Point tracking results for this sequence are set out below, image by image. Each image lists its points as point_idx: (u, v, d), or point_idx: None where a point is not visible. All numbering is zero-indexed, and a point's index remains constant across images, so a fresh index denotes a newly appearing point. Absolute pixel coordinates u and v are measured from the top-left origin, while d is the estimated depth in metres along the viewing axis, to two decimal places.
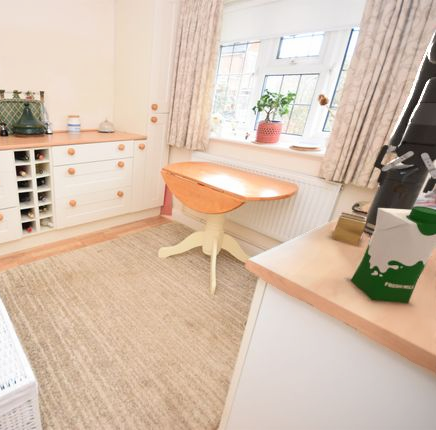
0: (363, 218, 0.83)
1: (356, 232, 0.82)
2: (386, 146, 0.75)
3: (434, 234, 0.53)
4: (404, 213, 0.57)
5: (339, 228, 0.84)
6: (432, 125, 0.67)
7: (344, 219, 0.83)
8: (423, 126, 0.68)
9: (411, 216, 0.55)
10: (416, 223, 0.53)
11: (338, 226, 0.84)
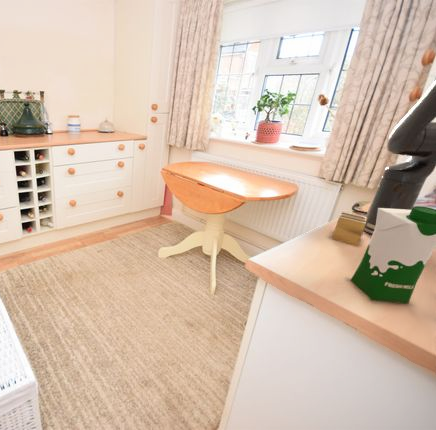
0: (363, 218, 0.83)
1: (356, 232, 0.82)
2: None
3: (434, 234, 0.53)
4: (404, 213, 0.57)
5: (339, 228, 0.84)
6: None
7: (344, 219, 0.83)
8: None
9: (411, 216, 0.55)
10: (416, 223, 0.53)
11: (338, 226, 0.84)
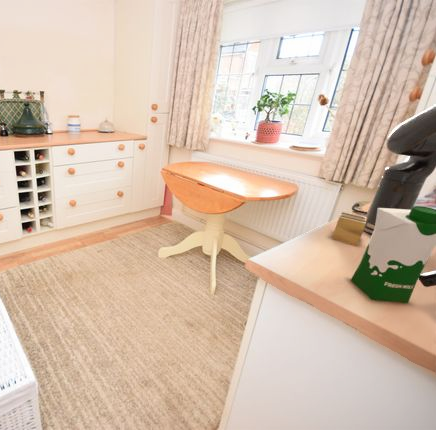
0: (363, 218, 0.83)
1: (356, 232, 0.82)
2: None
3: (433, 234, 0.53)
4: (404, 213, 0.57)
5: (339, 228, 0.84)
6: None
7: (344, 219, 0.83)
8: None
9: (410, 216, 0.55)
10: (415, 223, 0.53)
11: (338, 226, 0.84)
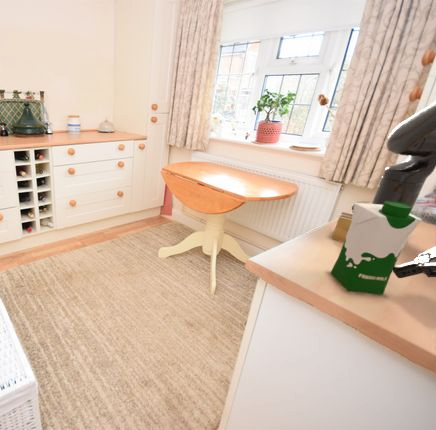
0: None
1: None
2: None
3: (403, 227, 0.55)
4: (378, 207, 0.59)
5: (339, 228, 0.84)
6: None
7: (344, 219, 0.83)
8: None
9: (382, 210, 0.57)
10: (386, 216, 0.56)
11: (338, 226, 0.84)
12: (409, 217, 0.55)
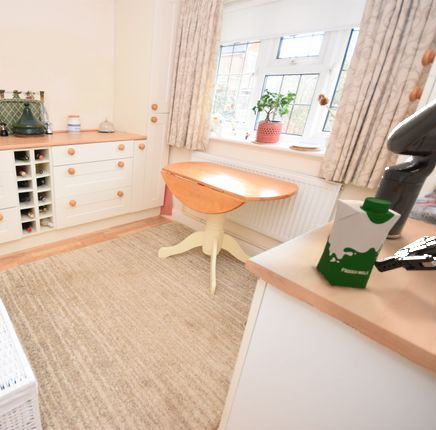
0: None
1: None
2: None
3: (383, 223, 0.57)
4: (359, 204, 0.61)
5: None
6: None
7: None
8: None
9: (363, 206, 0.59)
10: (366, 212, 0.57)
11: None
12: (388, 213, 0.57)
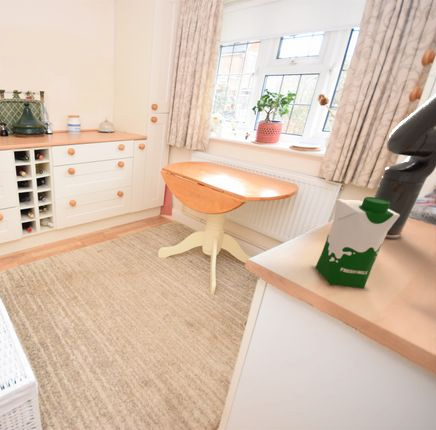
0: None
1: None
2: None
3: (382, 222, 0.57)
4: (358, 203, 0.61)
5: None
6: None
7: None
8: None
9: (362, 206, 0.59)
10: (365, 212, 0.57)
11: None
12: (387, 212, 0.57)
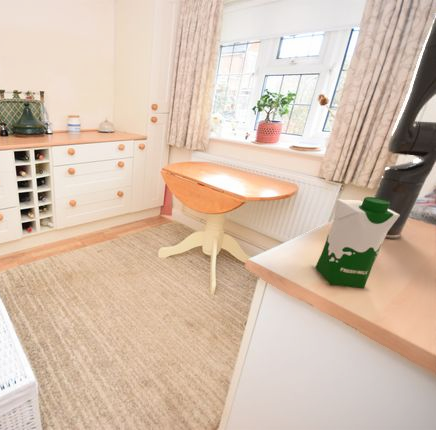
0: None
1: None
2: None
3: (382, 222, 0.57)
4: (358, 203, 0.61)
5: None
6: None
7: None
8: None
9: (362, 206, 0.59)
10: (365, 212, 0.57)
11: None
12: (387, 212, 0.57)
